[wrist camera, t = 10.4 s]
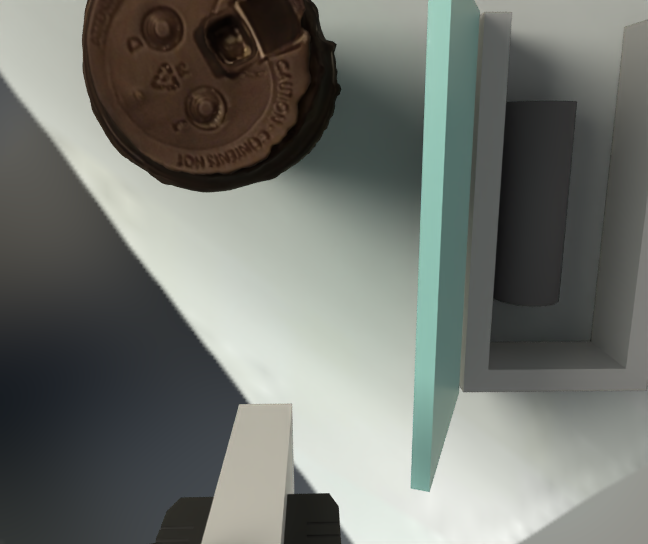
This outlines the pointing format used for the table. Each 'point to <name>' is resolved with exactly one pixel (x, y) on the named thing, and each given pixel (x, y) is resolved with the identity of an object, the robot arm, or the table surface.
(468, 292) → the grey flat bent block
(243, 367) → the table surface
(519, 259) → the cylinder
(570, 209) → the table surface
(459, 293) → the cover
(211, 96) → the coffee cup
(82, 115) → the table surface
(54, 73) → the table surface
